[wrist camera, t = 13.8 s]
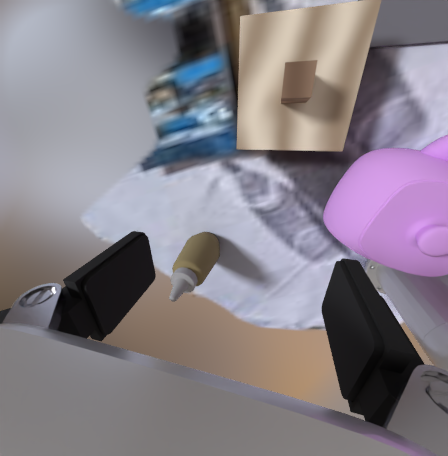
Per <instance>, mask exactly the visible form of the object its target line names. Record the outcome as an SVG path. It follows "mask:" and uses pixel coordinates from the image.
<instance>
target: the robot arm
mask: <svg viewBox="0 0 448 456" xmlns="http://www.w3.org/2000/svg"><path fill="white" fill-rule="evenodd" d="M154 279H155V269H154V264H153V260H152V255H151V250H150V245H149V240H148V237H147V236H146V235H145V233H143V232H136V231H133V232H131V233H129V234H128V235H126V236H125V237H124V238H122V239H121V240H119V241H118V242H116V243H115V244H114V245H112V246H111V247H109V248H108V249H106V250H105V251H104V252H102V253H101V254H99V255H98V256H96V257H95V258H93V259H92V260H91V261H90V262H88V263H86V264H85V265H83V266H82V267H81V268H79V269H78V270H76V271H75V272H73V273H72V274H71V275H69V276H68V277H66V278H65V279H64V280H63V281H64V283H65V285H66V286H65V287H64V288H63V289H62V287H61V286H60V285H59V284H56V283H49V284H43V285H40V286H37V287H35V288H33V289H31V290H29V291H27V292H25V293H24V294H22V295H21V296H20V297H19V298H18V299H17V300H16V301H15V302H14V304H13V306H12V308H9V309H6V310H3V311H0V456H448V274H447V275H444V276H438V277H427V276H420V275H414V274H410V273H406V272H403V271H399V270H396V269H393V268H390V267H387V266H384V265H382V264H379V263H377V262H374V261H372V260H370V259H369V260H368V261H367V263H366V266H365V270H364V269H363V267H362V266H361V264H360V262H359V261H357V260H351V259H341V261H337V262H336V264H335V266H334V270H333V273H332V276H331V279H330V282H329V285H328V288H327V291H326V294H325V297H324V301H323V304H322V315H323V319H324V323H325V327H326V331H327V335H328V339H329V344H330V348H331V352H332V356H333V361H334V365H335V369H336V373H337V377H338V381H339V386H340V390H341V394H342V396H343V398H344V399H347V400H348V403H349V407H350V411H351V412H353V413H357V414H361V415H364V418H365V421H364V420H361V419H359V418H356V417H353V416H350V415H347V414H345V413H341V412H338V411H335V410H332V409H328V408H325V407H322V406H319V405H315V404H312V403H309V402H306V401H302V400H299V399H296V398H293V397H289V396H286V395H283V394H279V393H276V392H272V391H268V390H265V389H262V388H258V387H255V386H251V385H248V384H245V383H241V382H238V381H234V380H231V379H227V378H224V377H221V376H217V375H214V374H210V373H207V372H203V371H200V370H196V369H192V368H189V367H186V366H182V365H179V364H175V363H171V362H168V361H165V360H161V359H157V358H154V357H150V356H147V355H143V354H140V353H136V352H132V351H129V350H126V349H122V348H118V347H115V346H111V345H107V344H104V343H100V342H96V341H93V340H90V339H87V338H88V337H89V336H91V338H92V339H95V340H98V341H102V340H103V339H104V338H105V337H106V335H108V334H110V333H111V332H112V331H113V330H114V329H115V327H116V326H117V325H118V324H119V323H120V321H121V320H122V319H123V318H124V317H125V315H126V314H127V313H128V312H129V310H130V309H131V308H132V307H133V306H134V304H135V303H136V302H137V301H138V299H139V298H140V297H141V296H142V295H143V293H144V292H145V291H146V290H147V289H148V287H149V286H150V285H151V284H152V282H153V281H154ZM377 291H379V292H381V293H384V294H387V296H388V297H389V299H390V300H391V302H392V303H393V305H394V307H395V308H396V310H397V311H398V313H399V314H400V316H401V317H402V319H403V320H404V322H405V323H406V325H407V326H408V328H409V329H410V331H411V332H412V334H413V335H414V337H415V339H416V340H417V341H418V343H419V345H420V346H421V347H422V349H423V351H424V352H425V353H426V355H427V356H428V358H429V360H430V361H431V362H432V364H433V365H434V366H432V365H425V364H424V363H423V361H422V359H421V358H420V356H419V355H418V353H417V351H416V350H415V348H414V347H413V345H412V343H411V342H410V340H409V338H408V337H407V335H406V334H405V332H404V330H403V329H402V327H401V326H400V324H399V322H398V321H397V319H396V318H395V316H394V314H393V313H392V311H391V310H390V308H389V306H388V305H387V303H386V301H385V300H384V299H383V297H382V296H380V295H379V293H378V292H377Z"/></svg>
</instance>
